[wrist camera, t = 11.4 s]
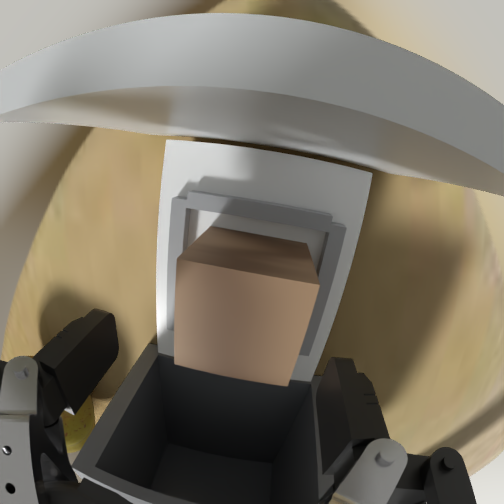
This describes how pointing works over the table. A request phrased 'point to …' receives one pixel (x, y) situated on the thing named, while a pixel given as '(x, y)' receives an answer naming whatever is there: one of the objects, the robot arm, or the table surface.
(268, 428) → the grey open box
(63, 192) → the table surface
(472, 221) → the table surface
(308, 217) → the grey flat-panelled piece
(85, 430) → the fruit
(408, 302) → the table surface
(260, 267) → the block
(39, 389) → the robot arm
